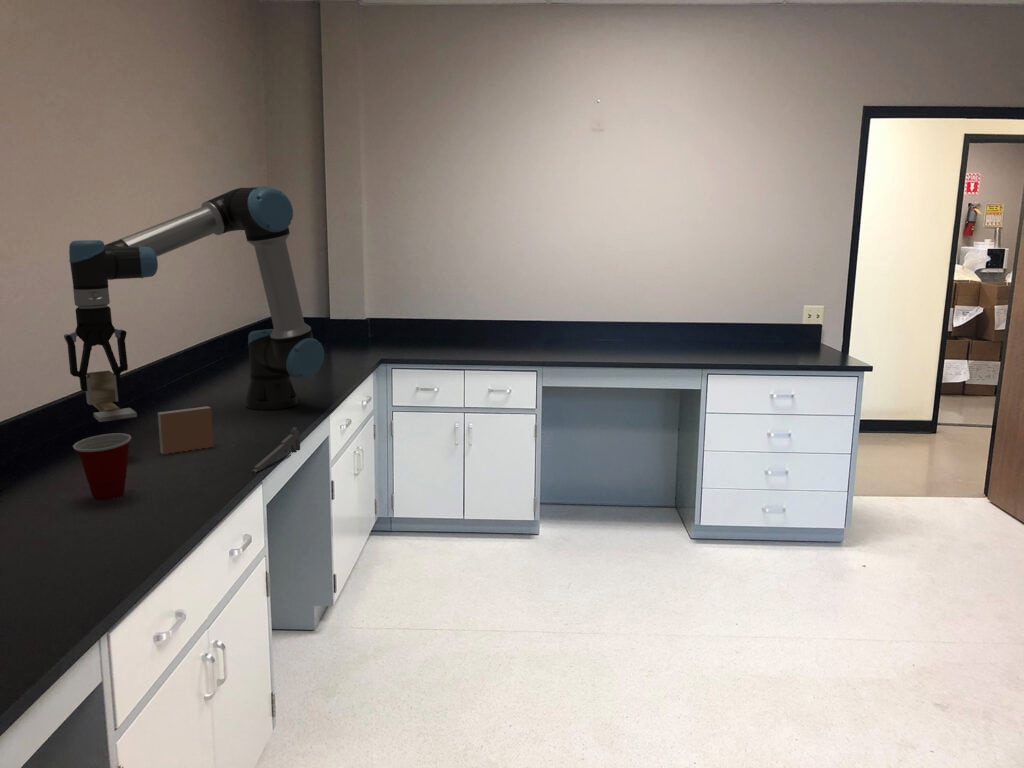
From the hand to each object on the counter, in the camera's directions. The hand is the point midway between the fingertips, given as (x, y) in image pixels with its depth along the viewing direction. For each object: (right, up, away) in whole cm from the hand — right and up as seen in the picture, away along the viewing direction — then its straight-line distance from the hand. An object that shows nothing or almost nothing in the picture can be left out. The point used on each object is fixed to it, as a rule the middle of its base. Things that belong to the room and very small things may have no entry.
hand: (102, 401), depth 208 cm
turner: (+2, -2, -2) cm, 4 cm away
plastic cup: (+16, -19, -32) cm, 41 cm away
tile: (+20, -12, +2) cm, 23 cm away
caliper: (+44, -14, -7) cm, 47 cm away
